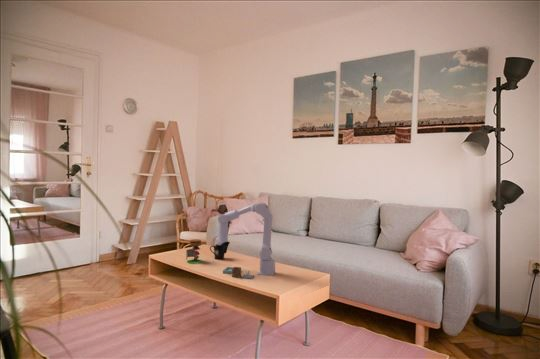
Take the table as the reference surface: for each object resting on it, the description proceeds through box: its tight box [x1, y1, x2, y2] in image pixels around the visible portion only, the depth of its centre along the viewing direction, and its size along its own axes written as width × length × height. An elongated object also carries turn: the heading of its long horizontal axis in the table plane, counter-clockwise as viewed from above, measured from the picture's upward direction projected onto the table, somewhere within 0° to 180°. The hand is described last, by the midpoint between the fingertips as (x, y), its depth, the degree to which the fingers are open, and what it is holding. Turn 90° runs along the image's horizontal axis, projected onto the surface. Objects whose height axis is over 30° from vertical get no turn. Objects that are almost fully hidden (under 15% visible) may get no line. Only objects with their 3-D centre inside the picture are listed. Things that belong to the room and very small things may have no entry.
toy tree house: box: [185, 239, 204, 265], centre depth 247 cm, size 12×13×15 cm
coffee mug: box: [209, 243, 226, 261], centre depth 258 cm, size 12×9×10 cm
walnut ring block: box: [231, 266, 242, 279], centre depth 215 cm, size 4×4×5 cm
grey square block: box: [241, 269, 255, 280], centre depth 214 cm, size 6×6×4 cm
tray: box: [222, 266, 235, 275], centre depth 225 cm, size 9×9×2 cm
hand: (222, 254), depth 229 cm, fingers open, 7 cm apart
